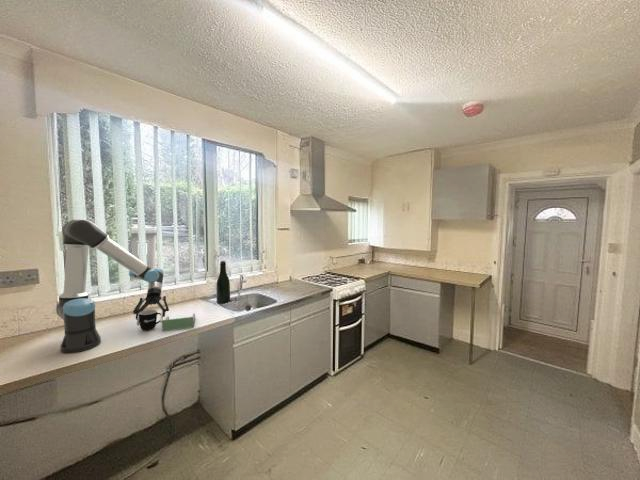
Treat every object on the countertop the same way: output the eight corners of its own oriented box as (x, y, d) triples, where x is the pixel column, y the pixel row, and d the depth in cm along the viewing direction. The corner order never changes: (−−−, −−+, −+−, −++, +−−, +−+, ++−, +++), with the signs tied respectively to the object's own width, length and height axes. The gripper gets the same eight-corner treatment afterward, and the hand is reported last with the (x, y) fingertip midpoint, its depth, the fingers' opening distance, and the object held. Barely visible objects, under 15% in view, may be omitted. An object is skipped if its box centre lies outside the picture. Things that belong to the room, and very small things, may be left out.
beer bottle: (228, 298, 217) (227, 259, 215) (231, 302, 209) (231, 261, 207) (215, 300, 212) (214, 260, 210) (218, 304, 203) (217, 262, 201)
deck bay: (162, 331, 152) (162, 320, 152) (166, 321, 167) (166, 312, 166) (193, 327, 158) (193, 317, 158) (195, 318, 173) (194, 309, 173)
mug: (141, 333, 148) (141, 315, 147) (137, 328, 154) (137, 311, 153) (164, 327, 157) (164, 311, 156) (160, 323, 163) (160, 307, 162)
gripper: (175, 292, 173) (173, 323, 160) (133, 295, 164) (127, 328, 151) (174, 286, 168) (171, 317, 154) (131, 288, 159) (123, 322, 145)
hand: (149, 323), depth 153 cm, fingers closed on mug, 11 cm apart
